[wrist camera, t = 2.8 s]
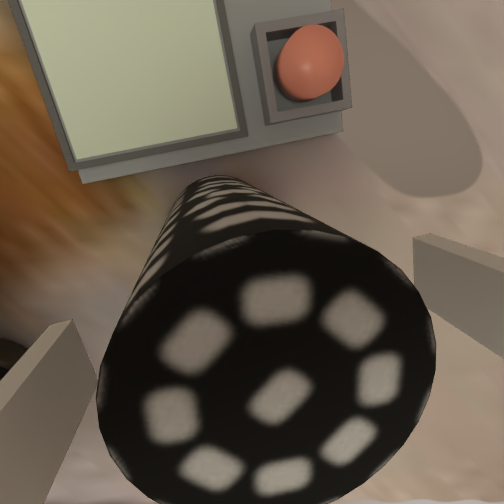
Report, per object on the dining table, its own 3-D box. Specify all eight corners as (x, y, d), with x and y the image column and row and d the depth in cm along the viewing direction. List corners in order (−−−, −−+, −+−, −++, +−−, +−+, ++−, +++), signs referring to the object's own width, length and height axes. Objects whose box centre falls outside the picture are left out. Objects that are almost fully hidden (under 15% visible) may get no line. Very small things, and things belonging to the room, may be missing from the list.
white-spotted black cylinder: (213, 152, 25) (270, 140, 6) (288, 220, 27) (493, 360, 9) (147, 233, 26) (15, 442, 7) (226, 291, 28) (286, 560, 9)
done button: (279, 107, 23) (288, 101, 20) (269, 43, 22) (278, 29, 19) (332, 96, 23) (346, 90, 21) (325, 33, 22) (340, 19, 20)
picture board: (80, 184, 24) (64, 188, 21) (-8, -64, 19) (-43, -102, 16) (337, 132, 26) (355, 129, 23) (314, -103, 21) (332, -143, 19)
